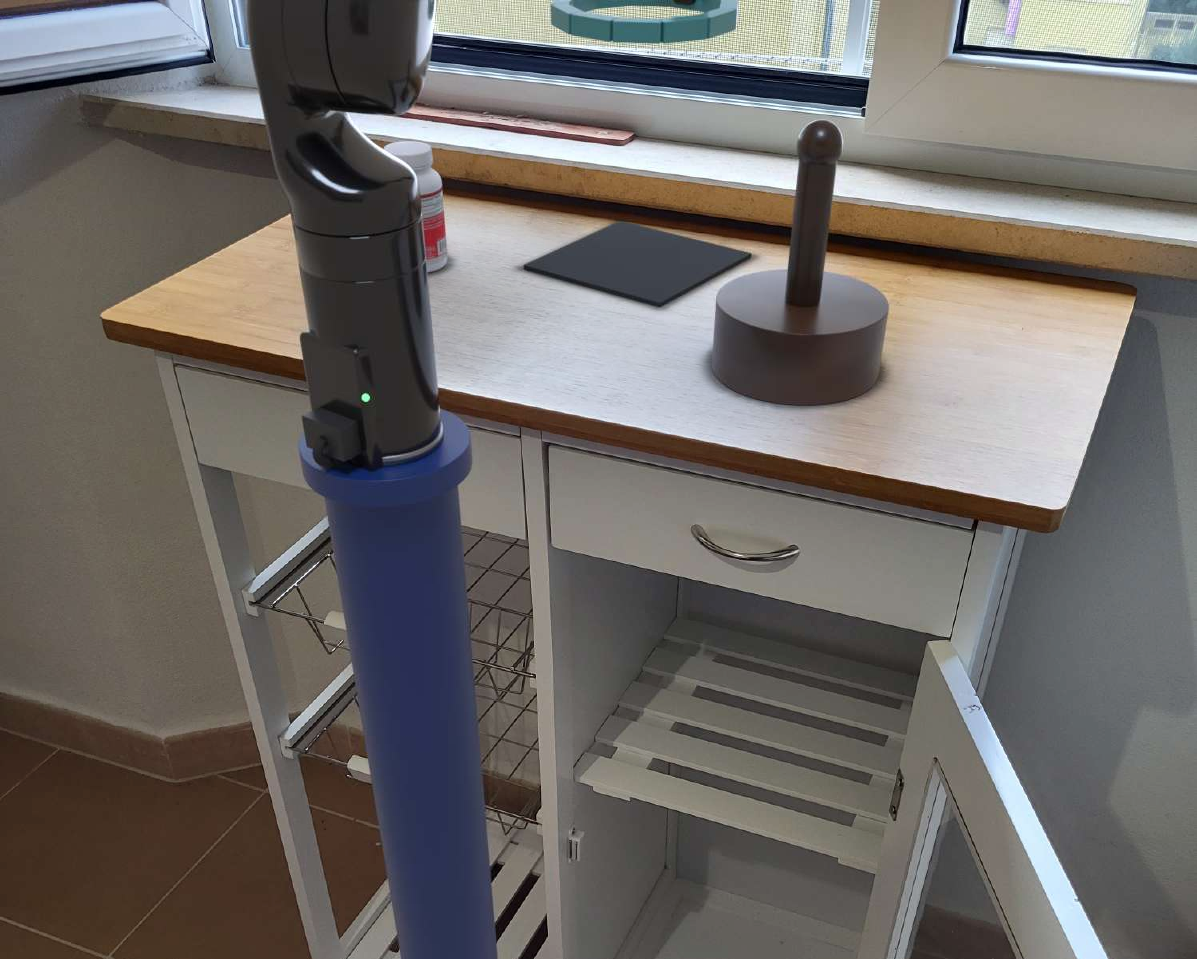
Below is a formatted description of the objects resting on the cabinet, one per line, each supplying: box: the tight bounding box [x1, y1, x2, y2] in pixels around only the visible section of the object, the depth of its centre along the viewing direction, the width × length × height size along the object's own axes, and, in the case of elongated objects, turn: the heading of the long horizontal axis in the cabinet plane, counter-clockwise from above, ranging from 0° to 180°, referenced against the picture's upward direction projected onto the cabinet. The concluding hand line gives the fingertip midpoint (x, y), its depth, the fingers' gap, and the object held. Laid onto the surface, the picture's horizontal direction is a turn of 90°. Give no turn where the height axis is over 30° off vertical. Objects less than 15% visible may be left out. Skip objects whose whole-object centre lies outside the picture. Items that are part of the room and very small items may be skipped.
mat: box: [522, 220, 753, 308], centre depth 127 cm, size 17×17×1 cm
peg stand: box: [711, 118, 890, 406], centre depth 102 cm, size 15×15×20 cm
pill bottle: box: [382, 140, 448, 273], centre depth 123 cm, size 6×6×11 cm
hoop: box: [550, 0, 739, 45], centre depth 112 cm, size 17×17×2 cm
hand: (690, 1), depth 117 cm, fingers closed on hoop, 1 cm apart
